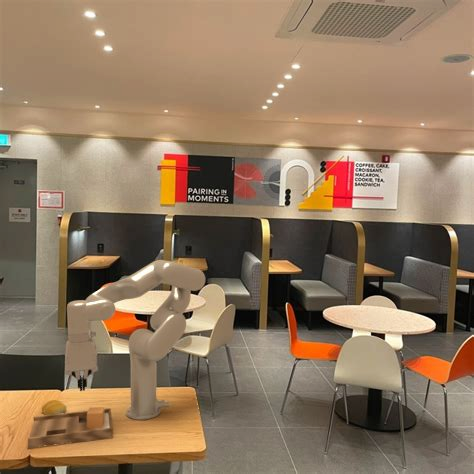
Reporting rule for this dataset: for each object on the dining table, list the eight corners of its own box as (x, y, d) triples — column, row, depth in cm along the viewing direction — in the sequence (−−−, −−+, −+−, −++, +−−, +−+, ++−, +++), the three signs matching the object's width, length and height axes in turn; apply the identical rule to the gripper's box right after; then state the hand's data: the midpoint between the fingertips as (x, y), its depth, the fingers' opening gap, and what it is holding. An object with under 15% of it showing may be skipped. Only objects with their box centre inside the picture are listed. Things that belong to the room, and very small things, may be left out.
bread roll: (47, 419, 170) (47, 408, 170) (39, 411, 177) (39, 401, 177) (70, 413, 176) (70, 402, 175) (61, 405, 182) (61, 395, 182)
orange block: (104, 421, 164) (104, 407, 164) (101, 427, 159) (101, 413, 159) (89, 421, 164) (89, 407, 164) (86, 428, 159) (86, 413, 159)
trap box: (110, 416, 172) (110, 408, 172) (112, 437, 156) (112, 428, 156) (33, 425, 165) (33, 416, 164) (27, 448, 148) (27, 438, 148)
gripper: (102, 332, 166) (104, 382, 167) (57, 336, 161) (60, 388, 162) (103, 337, 158) (105, 390, 160) (55, 342, 154) (58, 396, 155)
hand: (82, 389), depth 161 cm, fingers closed
